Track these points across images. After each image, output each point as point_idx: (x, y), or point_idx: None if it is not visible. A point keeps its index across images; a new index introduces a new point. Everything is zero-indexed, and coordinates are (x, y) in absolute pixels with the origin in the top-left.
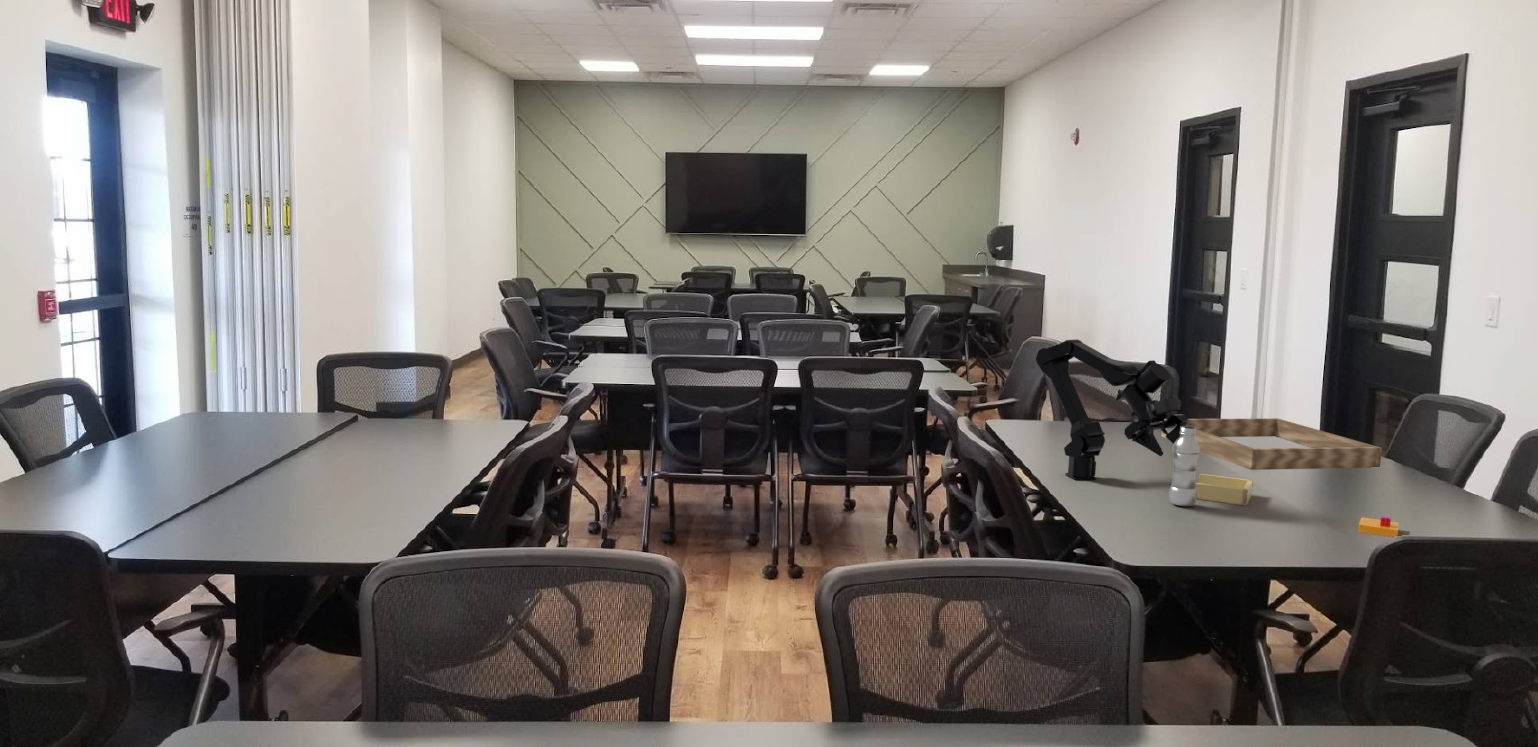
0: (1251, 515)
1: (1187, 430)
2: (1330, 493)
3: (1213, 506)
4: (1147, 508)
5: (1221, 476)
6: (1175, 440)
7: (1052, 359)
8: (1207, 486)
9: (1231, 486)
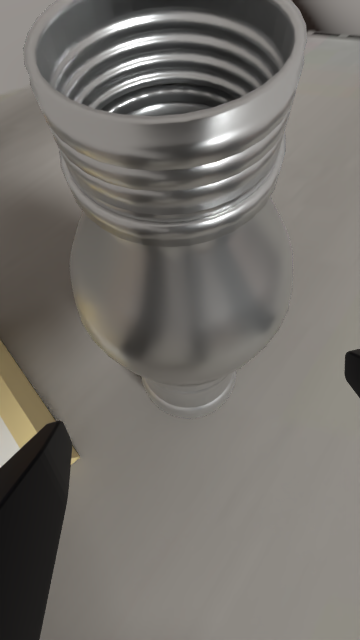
0: (71, 247)
1: (248, 18)
2: None
3: (94, 343)
4: (332, 368)
5: None
6: (10, 631)
7: None
8: (25, 410)
9: None
